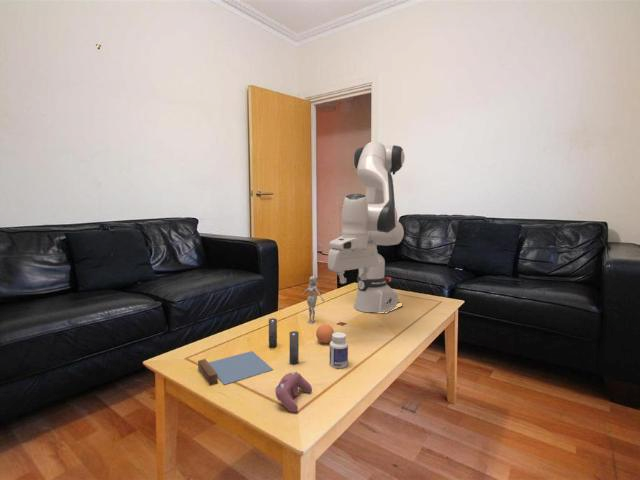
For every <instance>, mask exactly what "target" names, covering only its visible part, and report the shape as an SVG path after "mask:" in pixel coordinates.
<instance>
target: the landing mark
mask: <svg viewBox="0 0 640 480" xmlns="http://www.w3.org/2000/svg"><path fill="white" fill-rule="evenodd" d="M207 362H208V363H209V364H210V365H211V367H212V368H213V369H214V370H215V371H216V373H217V377H218V380H220V382H221V383H222V385H223V386H226V385H229V384H233V383H235V382H238V381H242V380H246V379H249V378H252V377H256V376H258V375H261V374H264V373H267V372H271V371H274V369H273V368H272V366H270V365H269V364H268V363H267V362H266V361H264V359H262V358H261V357H260V356H259V355H257V354H256V353H255V352H254V351H253V350H250V351H247V352H244V353H238V354H235V355H232V356H228V357H224V358H221V359H217V360H213V361H210V362H209V361H207Z"/></svg>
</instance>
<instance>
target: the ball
mask: <svg viewBox="0 0 640 480" xmlns="http://www.w3.org/2000/svg"><path fill="white" fill-rule="evenodd" d="M333 333H335V330H334V328H333V327H332V326H331V325H330V324H327V323H326V324H325V323H324V324H323V323H322V324H321V325H320V326H318V327H317V329H316V332H315V336H316V338H317V340H318V342H320V343H324V344H327V343H330V342H331V341H332V334H333Z"/></svg>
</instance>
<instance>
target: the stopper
mask: <svg viewBox="0 0 640 480" xmlns="http://www.w3.org/2000/svg"><path fill="white" fill-rule="evenodd" d="M208 362H209V361H208V360H207V359H206V358H203V359H200V360H197V365H198V366H197V367H198V368H197V370H198V369H199V370H198V372H200V374H201V375H202V376H203V377H202V378H204V379H205V381H206V382H207V384H208V385H209V386H212V385H215V384H218V382H219V381H218V380H219V378H218V377H217V373H216V371H215V370H214V369H213V368H212V367H211V365H210V364H209V363H208Z"/></svg>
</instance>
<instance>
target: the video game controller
mask: <svg viewBox="0 0 640 480" xmlns="http://www.w3.org/2000/svg"><path fill="white" fill-rule="evenodd" d="M299 389H300V390H302V391H303V392H304V393H307V394H310V393H312V391H313V387H312V385H311V384H310V383H309V382H308V380H306V379H305V378H304V377H303V376H302V375H301V373H299V372H298V371H295V372H294V371H292V372H289V373H287V374H285V375H283V377H281V379H280V381H279V383H278V385H277V386H276V387H275V392H274V393H275V396H276V398H277V400H278V401H280V403H281V404H282V405H283V406H284V407H285V408H286V409H287V411H289V412H292V413H297V411H298V409H299V407H298V405H297V403H296V401H295V400H294V397H297V396H299V394H300V393H299Z"/></svg>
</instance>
